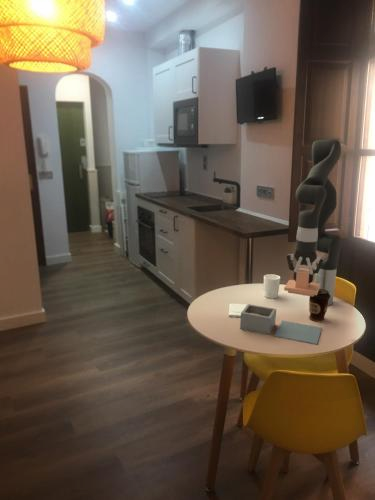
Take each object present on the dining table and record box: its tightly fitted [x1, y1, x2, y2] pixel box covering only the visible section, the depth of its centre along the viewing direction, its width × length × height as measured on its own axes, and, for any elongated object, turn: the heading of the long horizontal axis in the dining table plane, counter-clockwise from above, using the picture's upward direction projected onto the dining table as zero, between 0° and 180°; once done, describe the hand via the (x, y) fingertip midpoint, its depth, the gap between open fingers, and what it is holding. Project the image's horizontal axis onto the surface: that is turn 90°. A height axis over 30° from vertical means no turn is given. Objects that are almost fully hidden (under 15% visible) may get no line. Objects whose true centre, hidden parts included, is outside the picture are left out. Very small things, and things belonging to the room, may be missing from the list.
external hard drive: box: [228, 303, 247, 318], centre depth 183 cm, size 2×8×12 cm
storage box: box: [239, 303, 277, 336], centre depth 167 cm, size 10×12×7 cm
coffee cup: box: [308, 289, 330, 323], centre depth 174 cm, size 9×8×13 cm
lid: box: [283, 267, 320, 297], centre depth 158 cm, size 10×12×8 cm
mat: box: [273, 320, 322, 346], centre depth 164 cm, size 15×16×1 cm
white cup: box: [263, 273, 281, 300], centre depth 200 cm, size 8×8×10 cm
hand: (302, 281), depth 158 cm, fingers closed on lid, 4 cm apart
